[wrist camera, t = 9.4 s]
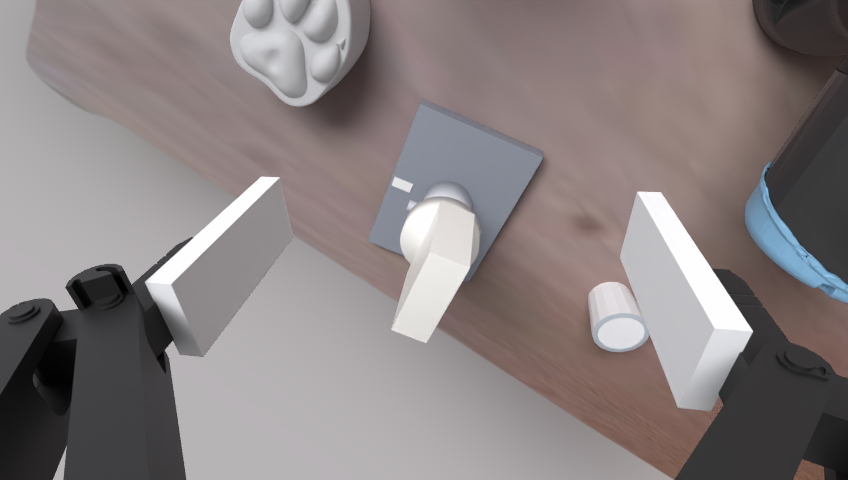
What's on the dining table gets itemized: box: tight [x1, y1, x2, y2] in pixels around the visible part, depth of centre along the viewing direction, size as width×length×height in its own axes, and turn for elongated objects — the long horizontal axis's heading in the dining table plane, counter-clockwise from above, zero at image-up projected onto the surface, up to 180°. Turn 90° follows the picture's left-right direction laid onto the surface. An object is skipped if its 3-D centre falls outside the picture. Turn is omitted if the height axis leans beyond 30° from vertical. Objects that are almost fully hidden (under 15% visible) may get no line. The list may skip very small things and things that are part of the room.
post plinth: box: [368, 99, 543, 282], centre depth 52 cm, size 15×20×8 cm
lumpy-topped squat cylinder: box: [230, 0, 371, 107], centre depth 42 cm, size 10×13×9 cm
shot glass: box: [588, 282, 649, 352], centre depth 57 cm, size 7×7×7 cm
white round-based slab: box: [391, 196, 480, 343], centre depth 44 cm, size 12×8×12 cm
